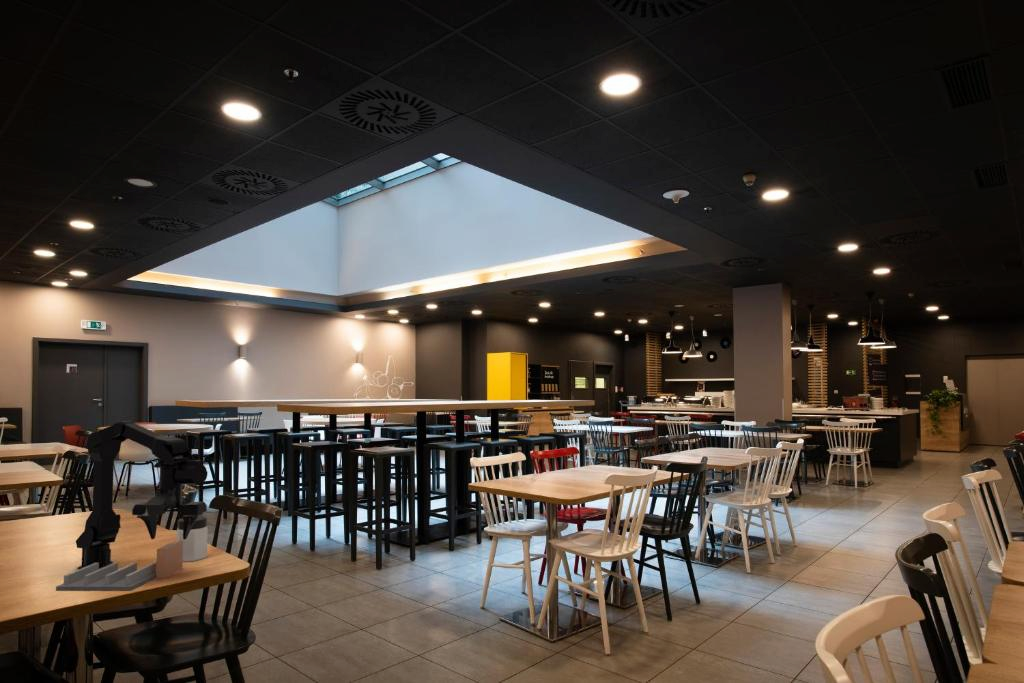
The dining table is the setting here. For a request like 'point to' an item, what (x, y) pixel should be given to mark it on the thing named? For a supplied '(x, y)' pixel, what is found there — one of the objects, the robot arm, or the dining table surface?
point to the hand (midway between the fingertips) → (169, 539)
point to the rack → (108, 578)
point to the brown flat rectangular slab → (169, 559)
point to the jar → (194, 539)
